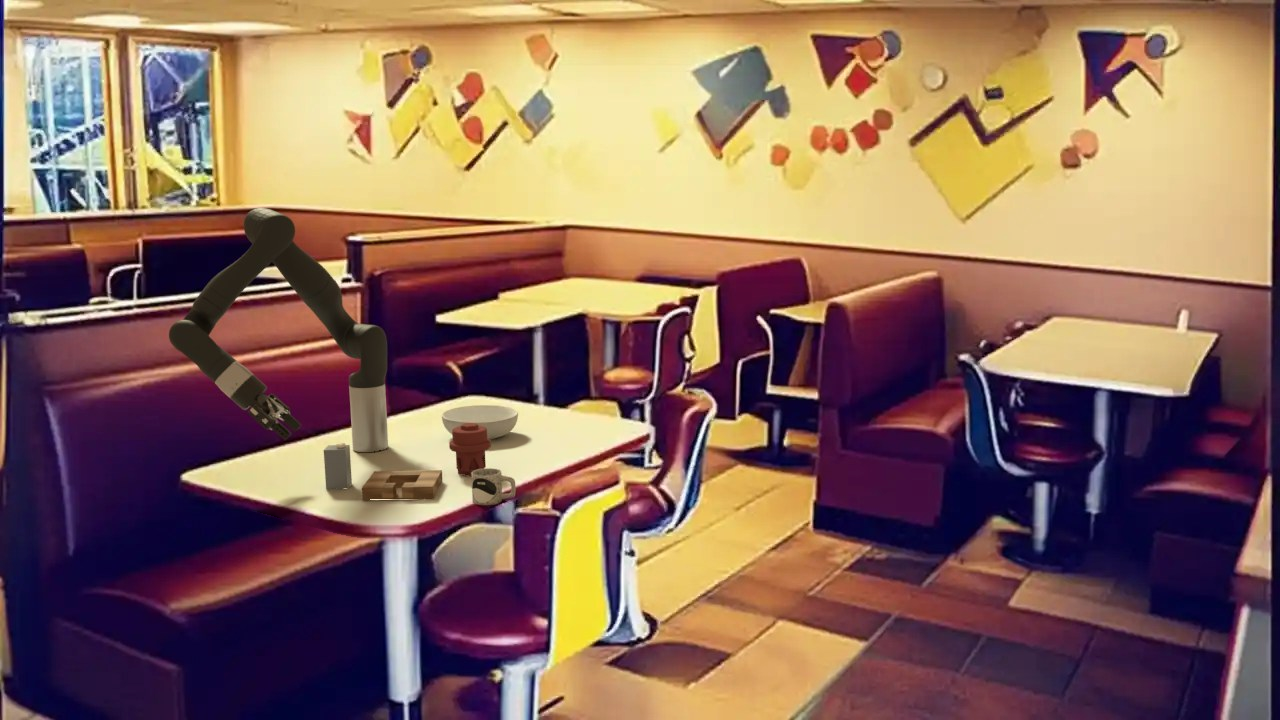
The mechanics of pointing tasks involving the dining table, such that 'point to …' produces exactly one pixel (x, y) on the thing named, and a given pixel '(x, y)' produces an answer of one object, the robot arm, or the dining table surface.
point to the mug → (490, 486)
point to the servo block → (337, 466)
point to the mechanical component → (469, 447)
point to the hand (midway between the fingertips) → (293, 432)
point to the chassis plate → (402, 485)
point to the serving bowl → (482, 418)
